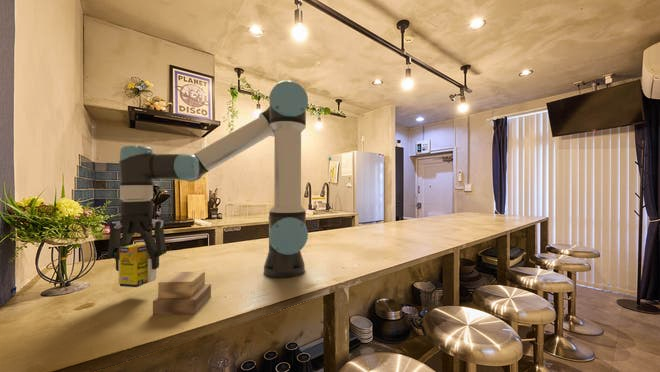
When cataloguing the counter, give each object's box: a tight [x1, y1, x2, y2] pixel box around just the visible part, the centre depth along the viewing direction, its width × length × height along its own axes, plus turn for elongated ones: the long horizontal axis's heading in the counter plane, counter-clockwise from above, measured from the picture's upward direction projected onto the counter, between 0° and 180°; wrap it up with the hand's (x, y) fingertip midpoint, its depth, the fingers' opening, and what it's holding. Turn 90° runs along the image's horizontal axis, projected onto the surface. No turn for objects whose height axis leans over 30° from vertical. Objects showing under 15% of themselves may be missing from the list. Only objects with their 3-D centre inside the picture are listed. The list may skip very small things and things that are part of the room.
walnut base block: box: [152, 283, 212, 317], centre depth 67 cm, size 10×10×4 cm
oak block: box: [157, 270, 206, 299], centre depth 67 cm, size 8×8×4 cm
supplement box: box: [119, 242, 155, 288], centre depth 72 cm, size 6×6×11 cm
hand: (138, 280), depth 72 cm, fingers closed on supplement box, 7 cm apart
